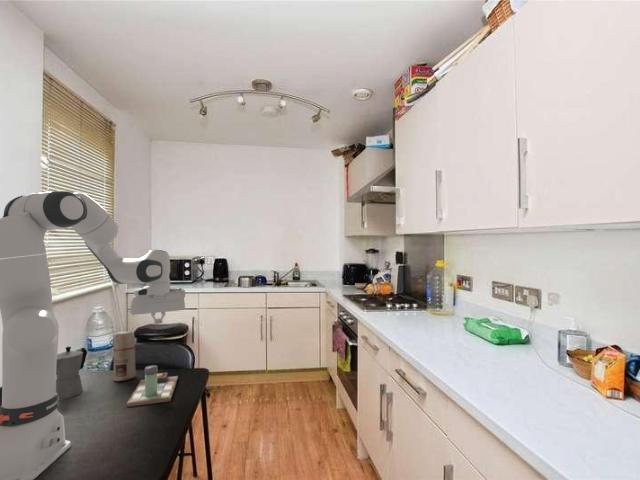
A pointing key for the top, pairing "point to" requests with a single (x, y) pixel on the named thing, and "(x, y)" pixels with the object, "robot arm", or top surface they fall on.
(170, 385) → the checkered tray
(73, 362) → the coffeepot
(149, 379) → the green capped bottle
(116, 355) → the tan paper carton
